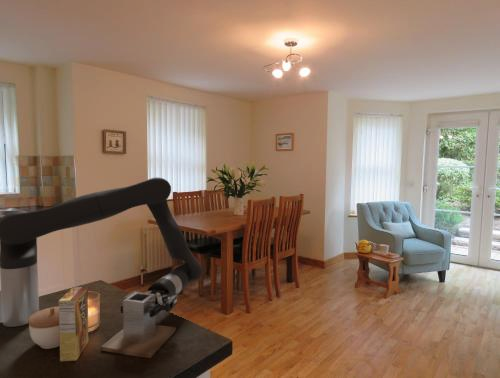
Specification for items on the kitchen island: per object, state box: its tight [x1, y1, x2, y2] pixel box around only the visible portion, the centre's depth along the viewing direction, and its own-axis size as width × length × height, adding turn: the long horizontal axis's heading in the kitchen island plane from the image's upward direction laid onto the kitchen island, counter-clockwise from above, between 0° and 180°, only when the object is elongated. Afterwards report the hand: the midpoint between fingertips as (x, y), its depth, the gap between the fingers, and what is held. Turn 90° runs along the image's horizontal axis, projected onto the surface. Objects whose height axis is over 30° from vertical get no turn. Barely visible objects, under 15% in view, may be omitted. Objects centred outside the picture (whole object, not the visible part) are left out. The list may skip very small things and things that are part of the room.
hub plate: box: [100, 324, 177, 359], centre depth 90 cm, size 14×14×4 cm
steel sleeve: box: [122, 291, 157, 344], centre depth 90 cm, size 6×6×11 cm
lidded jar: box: [28, 305, 60, 350], centre depth 88 cm, size 11×11×9 cm
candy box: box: [58, 286, 89, 363], centre depth 84 cm, size 9×4×15 cm, turn 9°
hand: (136, 312), depth 88 cm, fingers open, 8 cm apart
